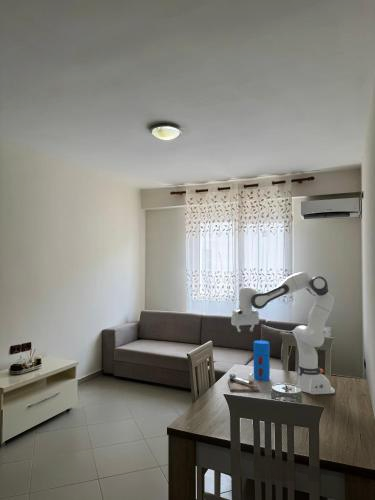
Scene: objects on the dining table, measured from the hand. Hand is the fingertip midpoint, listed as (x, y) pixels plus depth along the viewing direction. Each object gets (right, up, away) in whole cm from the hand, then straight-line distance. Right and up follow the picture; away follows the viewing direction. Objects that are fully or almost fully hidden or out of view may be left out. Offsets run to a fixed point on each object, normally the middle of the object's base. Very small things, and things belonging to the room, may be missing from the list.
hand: (245, 331), depth 236 cm
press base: (-3, -33, -12) cm, 35 cm away
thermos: (+12, -34, +3) cm, 36 cm away
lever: (-4, -31, -10) cm, 33 cm away
